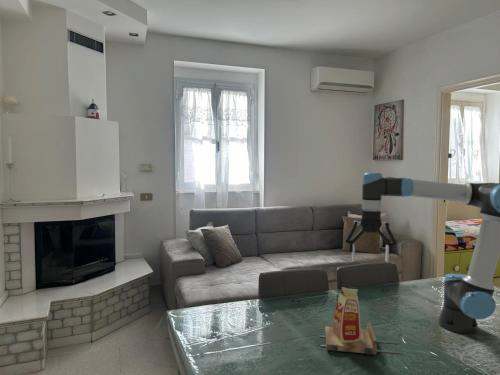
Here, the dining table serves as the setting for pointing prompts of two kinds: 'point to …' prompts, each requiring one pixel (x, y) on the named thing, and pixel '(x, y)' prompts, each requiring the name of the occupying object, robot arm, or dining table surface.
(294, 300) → the dining table surface
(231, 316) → the dining table surface
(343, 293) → the milk carton
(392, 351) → the rails
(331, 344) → the cart
